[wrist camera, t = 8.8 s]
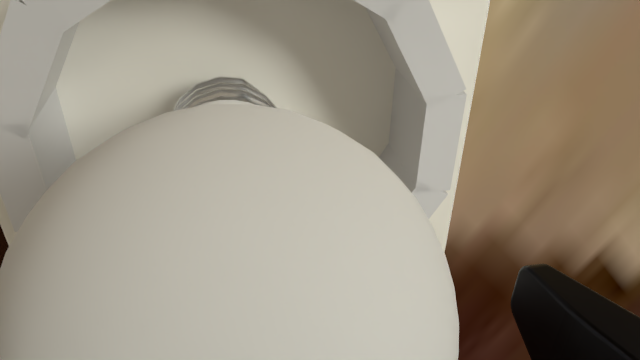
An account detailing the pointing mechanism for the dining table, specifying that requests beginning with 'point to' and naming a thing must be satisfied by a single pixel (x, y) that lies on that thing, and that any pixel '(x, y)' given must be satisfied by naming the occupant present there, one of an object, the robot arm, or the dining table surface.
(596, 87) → the dining table surface
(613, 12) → the dining table surface
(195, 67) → the socket base
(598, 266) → the dining table surface
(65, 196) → the light bulb
